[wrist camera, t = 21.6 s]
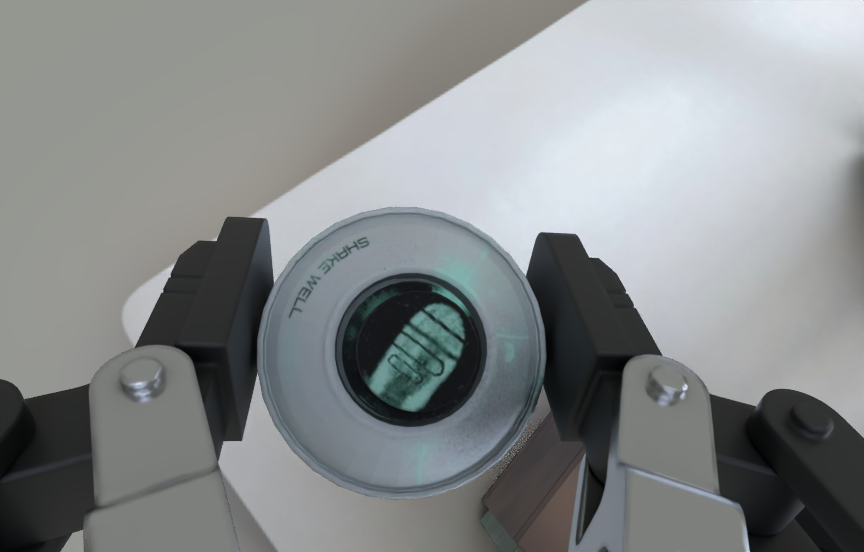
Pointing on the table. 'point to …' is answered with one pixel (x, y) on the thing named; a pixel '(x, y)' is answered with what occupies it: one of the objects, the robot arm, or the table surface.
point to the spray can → (401, 353)
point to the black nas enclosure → (816, 532)
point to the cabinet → (538, 491)
